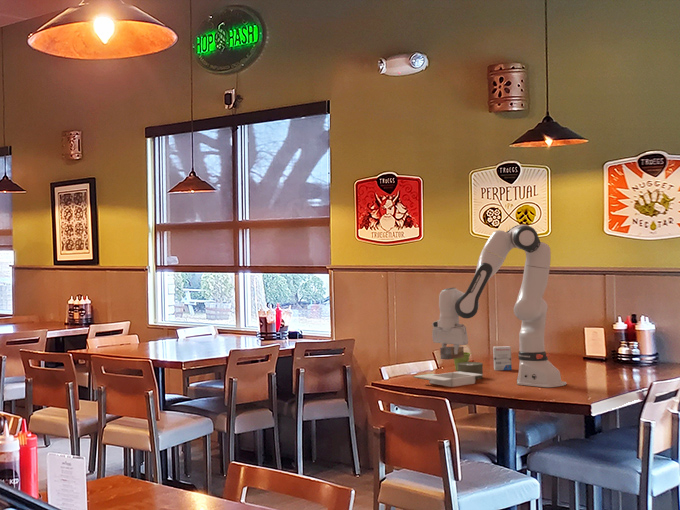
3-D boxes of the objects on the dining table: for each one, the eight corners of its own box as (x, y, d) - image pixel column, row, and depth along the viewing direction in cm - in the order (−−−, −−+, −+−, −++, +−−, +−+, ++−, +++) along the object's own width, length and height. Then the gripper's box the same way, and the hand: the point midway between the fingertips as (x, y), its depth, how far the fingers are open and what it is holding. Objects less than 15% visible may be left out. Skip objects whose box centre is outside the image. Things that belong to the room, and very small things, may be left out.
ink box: (510, 369, 410) (510, 345, 410) (511, 370, 405) (511, 346, 405) (493, 369, 411) (493, 346, 411) (494, 370, 406) (493, 347, 406)
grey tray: (483, 382, 370) (483, 374, 370) (443, 388, 355) (443, 380, 355) (460, 378, 382) (460, 371, 382) (421, 384, 367) (420, 376, 367)
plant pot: (465, 372, 402) (465, 354, 402) (448, 370, 408) (448, 353, 408) (474, 369, 410) (473, 352, 410) (457, 368, 416) (457, 351, 416)
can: (483, 376, 388) (483, 361, 389) (482, 379, 377) (482, 365, 377) (458, 375, 391) (458, 361, 391) (456, 379, 379) (456, 365, 379)
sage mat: (448, 377, 386) (448, 376, 386) (430, 380, 379) (430, 378, 379) (432, 374, 396) (431, 373, 396) (413, 377, 389) (413, 376, 389)
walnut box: (463, 357, 369) (463, 346, 369) (447, 359, 364) (447, 348, 364) (456, 356, 373) (456, 345, 373) (440, 358, 367) (440, 347, 367)
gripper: (470, 323, 361) (471, 354, 361) (439, 322, 378) (440, 351, 378) (460, 324, 358) (461, 355, 358) (429, 323, 374) (430, 352, 374)
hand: (450, 353), depth 368 cm, fingers closed on walnut box, 4 cm apart
